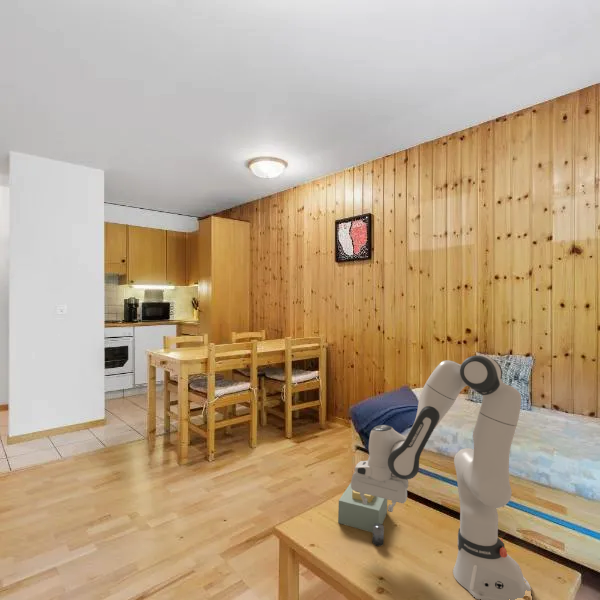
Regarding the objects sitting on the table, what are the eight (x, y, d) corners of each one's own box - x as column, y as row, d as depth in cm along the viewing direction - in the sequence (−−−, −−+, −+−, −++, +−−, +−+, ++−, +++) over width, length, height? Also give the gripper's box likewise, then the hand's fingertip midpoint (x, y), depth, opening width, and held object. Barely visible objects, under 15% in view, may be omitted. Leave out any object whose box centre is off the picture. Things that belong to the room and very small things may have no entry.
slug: (384, 541, 143) (384, 524, 143) (382, 547, 140) (382, 530, 139) (373, 537, 145) (374, 522, 145) (371, 544, 141) (371, 527, 141)
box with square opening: (386, 512, 162) (387, 485, 162) (378, 534, 147) (379, 504, 147) (349, 503, 168) (350, 477, 168) (338, 522, 154) (338, 494, 154)
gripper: (410, 473, 141) (407, 511, 141) (355, 460, 149) (353, 496, 149) (407, 480, 135) (405, 520, 135) (350, 467, 143) (348, 504, 144)
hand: (377, 507), depth 142 cm, fingers open, 8 cm apart
